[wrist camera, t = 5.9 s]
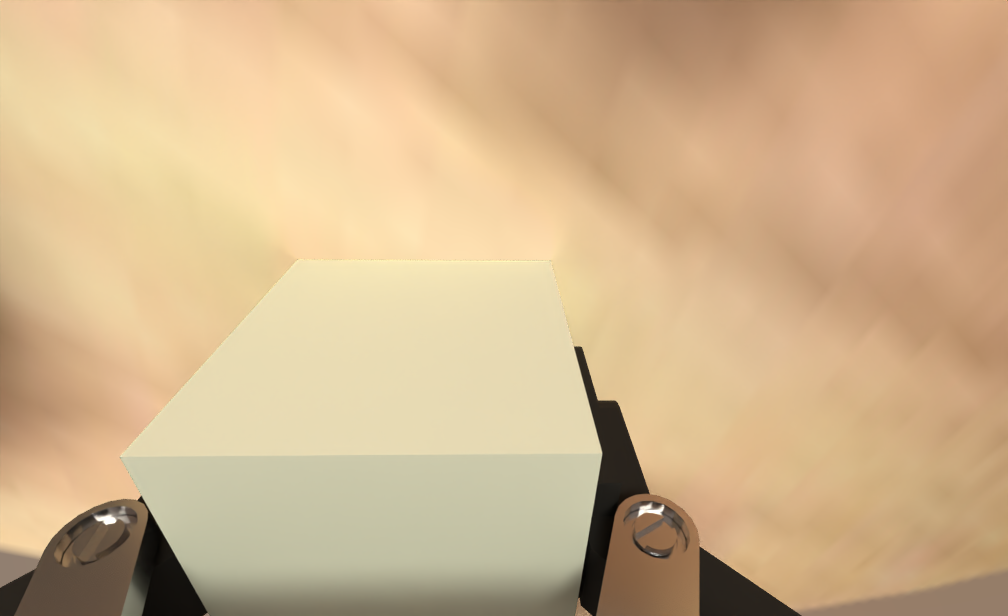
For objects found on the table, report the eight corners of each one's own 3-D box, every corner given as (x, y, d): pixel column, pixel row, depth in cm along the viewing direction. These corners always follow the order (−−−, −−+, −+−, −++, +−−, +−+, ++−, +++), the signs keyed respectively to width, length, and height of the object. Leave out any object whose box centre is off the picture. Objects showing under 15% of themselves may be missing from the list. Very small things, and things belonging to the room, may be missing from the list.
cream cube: (550, 260, 11) (602, 453, 6) (537, 441, 14) (565, 676, 9) (297, 259, 11) (119, 456, 6) (339, 442, 14) (246, 682, 9)
